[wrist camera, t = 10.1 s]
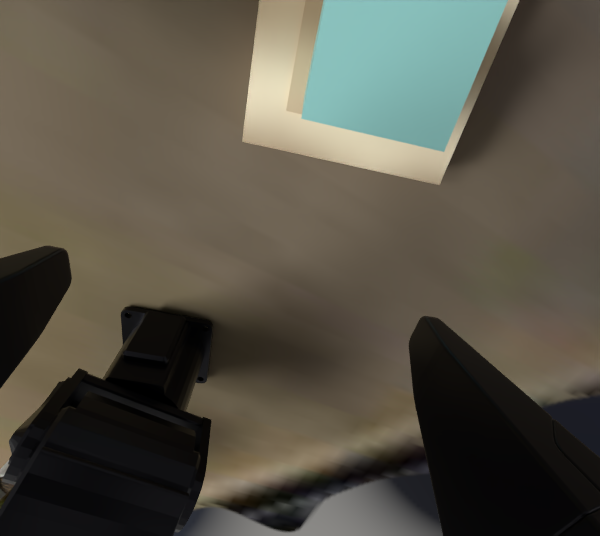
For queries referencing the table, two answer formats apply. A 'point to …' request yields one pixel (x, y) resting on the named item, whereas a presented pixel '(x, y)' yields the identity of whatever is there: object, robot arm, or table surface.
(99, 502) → the robot arm
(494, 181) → the table surface
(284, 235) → the table surface
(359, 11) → the teal cube
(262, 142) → the cream square tray
